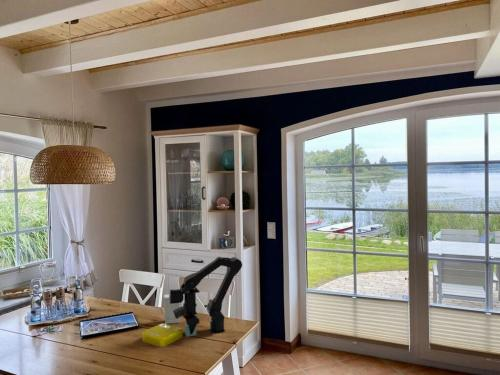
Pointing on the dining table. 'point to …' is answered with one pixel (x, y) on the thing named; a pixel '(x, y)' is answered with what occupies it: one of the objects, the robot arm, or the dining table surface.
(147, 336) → the element tile
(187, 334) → the block
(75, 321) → the dining table surface
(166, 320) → the skincare box
